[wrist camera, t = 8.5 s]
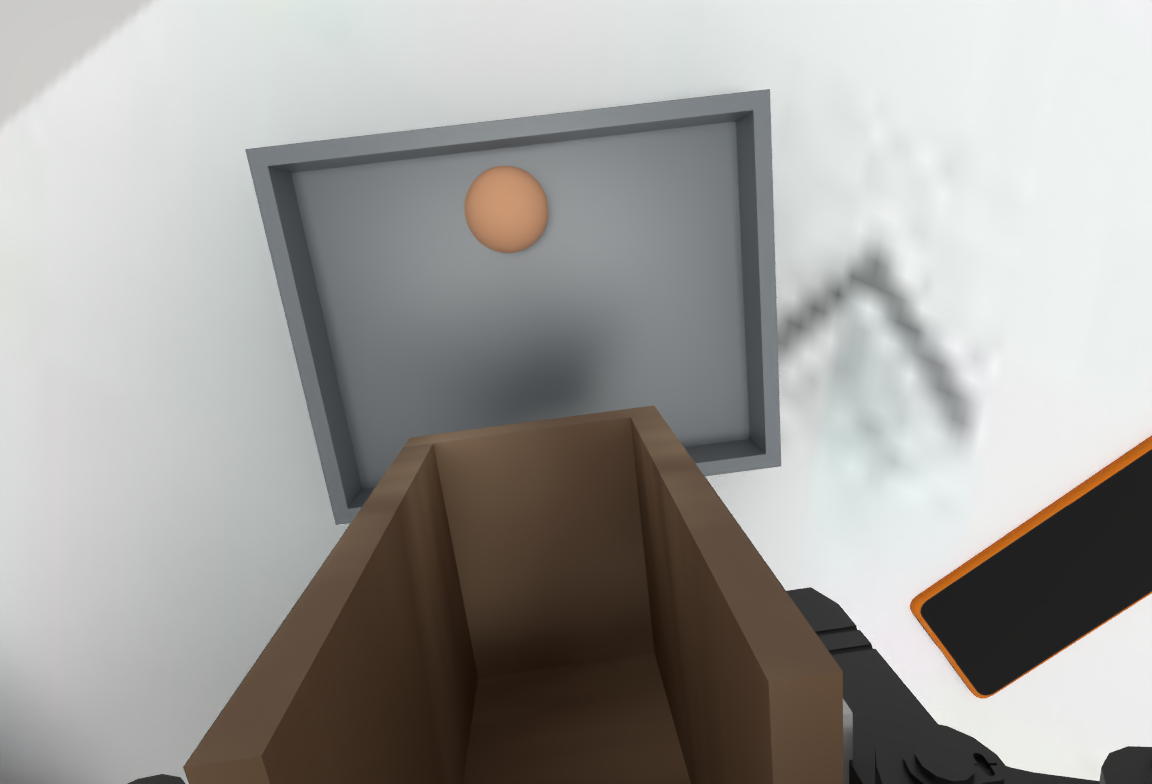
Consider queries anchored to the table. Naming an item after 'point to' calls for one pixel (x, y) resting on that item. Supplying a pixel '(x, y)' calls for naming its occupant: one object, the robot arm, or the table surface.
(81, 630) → the table surface
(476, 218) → the ball
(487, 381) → the tray
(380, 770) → the brown wooden bin
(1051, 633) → the smartphone
